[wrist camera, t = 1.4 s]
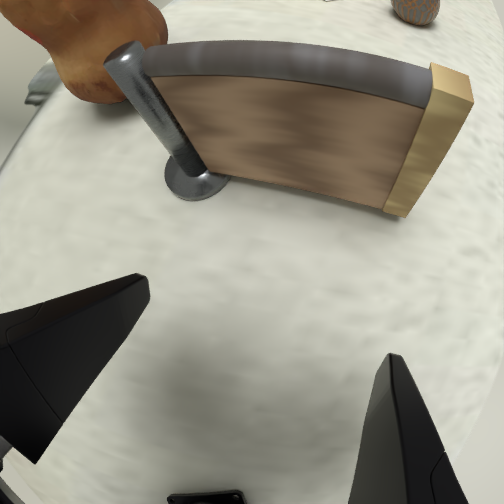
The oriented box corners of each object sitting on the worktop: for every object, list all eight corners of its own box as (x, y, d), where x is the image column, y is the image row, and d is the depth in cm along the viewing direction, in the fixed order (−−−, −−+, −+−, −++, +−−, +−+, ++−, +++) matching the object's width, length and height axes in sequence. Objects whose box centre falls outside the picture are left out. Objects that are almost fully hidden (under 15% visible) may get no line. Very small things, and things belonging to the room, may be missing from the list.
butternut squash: (86, 95, 34) (-13, -19, 10) (164, 40, 34) (91, -91, 10) (108, 147, 29) (-39, -8, 5) (208, 76, 29) (118, -115, 5)
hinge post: (158, 194, 26) (60, 97, 13) (184, 138, 27) (113, 31, 14) (218, 207, 24) (133, 88, 11) (242, 146, 25) (190, 17, 13)
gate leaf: (208, 173, 23) (137, 60, 12) (216, 154, 24) (154, 40, 12) (405, 217, 19) (474, 103, 8) (408, 195, 20) (468, 75, 8)
